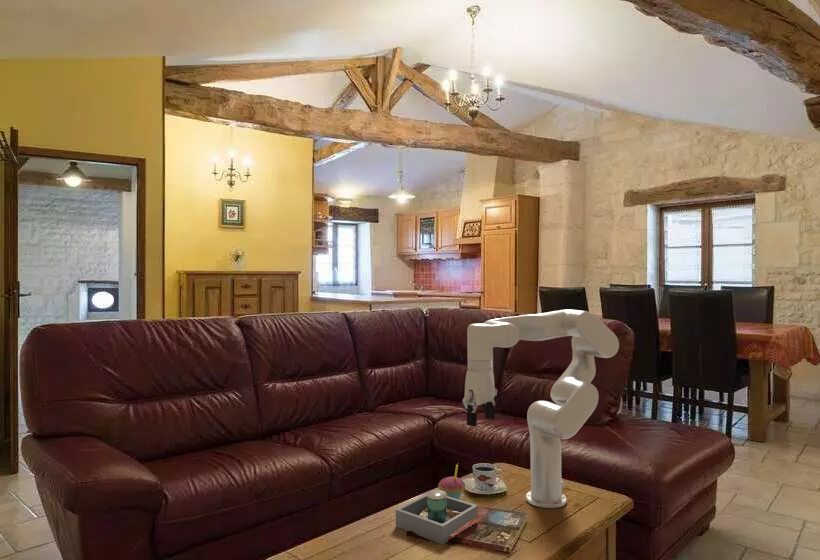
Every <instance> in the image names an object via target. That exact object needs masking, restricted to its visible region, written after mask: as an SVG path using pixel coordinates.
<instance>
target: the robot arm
mask: <svg viewBox="0 0 820 560" xmlns="http://www.w3.org/2000/svg"><path fill="white" fill-rule="evenodd" d="M466 333H467V334H466V336H467V338H466V339H467V343H466V344H467V347H466V348H467V370H466V375H465V380H464V397H463V398H462V403H463V408H464V411H465V413H466V425H467V426H470V427H474V428H475V427H477V426H478V419H477V418H478V414H477V412H476V411H477V409H478V406H481V405H484V418H485V419H489V420H495V418H496V417H495V410H496V409H495V406H496V400H497V394H498V389H497V388H496V387H495V376H494V348H511V347H513V346H515V345H516V344H517V343H518V342H519V341H529V342H531V341H532V342H540V341H546V340H552V339H556V338H563V337H572V338H571V349H572V358H571V359H572V360H571V362H570V364H569V365H568V367H567V368H566V369H565V371H564V372H563V373H562V374H561V376H559V378H558V379H557V380H556V381H555V383H554V384H553V385H552V387H551V389H550V398H551V400H552V401H553V402H552V401H548V400H537V401H534V402H533V403H531V404H530V406H529V407H528V410H527V413H526V414H527V415H526V418H527V421H526V422H527V426H528V427H527V428H528V431H529V438H530V440H529V441H530V451H529V452H530V454H529V455H530V491H528V492H526V495H525V500H526V501H527V502H528V503H529V504H530V505H532V506H535V507H539V508H544V509H557V508H558V509H559V508H562V507H564V506H565V505H567V499H568V498H567V496H566V495H565V494H563V493H562V490H563V488H564V487H565V486H566V483H565V481H563V480H562V443H561V439H562V440H568V439H570V438H572V437H574V436H575V435H576V434H577V432H579V430H580V429H581V428H582V427H583V426H584V424H585V423H586V422H587V421H588V419H589V418H590V417H591V415H592V414H593V413H594V411H595V410H596V408H597V406H598V403H599V398H600V397H599V391H598V389H597V387H596V386H595V385H594V384H592V383H591V382H592V381H593V380H594V378H595V376H596V371H597V368H596V362H595V357H597V358H604V359H609V358H612V357H614V356H616V355H617V353H618V351H619V350H620V341H619V339H618V337H617V336H616V334H615V333H614V332H613V331H612V330H611V329H610V328H609V327H608V325H606V324H605V323H604V322H602V321H601V320H600V319H599V317H597V316H596V315H595V314H593V313H591V312H590V311H587V310H583V309H582V310H580V309H568V308H567V309H560V310H553V311H548V312H542V313H541V312H540V313H536V314H535V313H534V314H525V315H518V316H517V315H516V316H515V315H514V316H506V317H505V316H504V317H501V318H494V319H488V320H485V321H484V322H483V323H480V322H479V323H478V322H477V323H471V324H469V325H468V327H467V331H466Z"/></svg>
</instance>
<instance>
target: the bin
mask: <svg viewBox="0 0 820 560" xmlns="http://www.w3.org/2000/svg"><path fill="white" fill-rule="evenodd" d="M478 506H479V505H477V504H475V503H470V502H467V501H465V500H461V499H459V500H458V499H455V498H452V497H449V496H447V497H446V508H447V509H450V510H454V511H458V512H461V513H460V514H458V515H456V516H455V517H453V518H451V519H450V520H448V521H446V522H445V523H443V524H441V523H438V522H435V521H432V520H429V519H427V518H424V517H421V516H419V515H420V513H421V512H422V511H423V510H425V509H426V508H427V493H426V494H424V495H421V496H420V497H418V498H416V499H414V500H412V501H410V502H408V503H406V504H403V505H401V506H399V507H397V508H396V509H395V527H396V528H398V529H401V530H403V531H405V532H408V531H413V532H414V533H416V534H415V535H416V536H420V537H422V538H424V539H426V540H427V539H428V540H430V541H432V542H435V543H438V544H441V545H442V546H443V545H445V544H447V543H448V542H449V541H448V538H449V536H450V535H451V534H452V533H454V532H455V531H457V530H458V529H459V528H460V527H462V526H463V525H465V524H466V523H468V522H469V521H471V520H473V519H474V518H476V517H478V518H479V515H478V512H479V511H478V510H479V509H478V508H479V507H478ZM414 533H413V534H414ZM417 534H418V535H417Z"/></svg>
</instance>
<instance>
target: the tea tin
mask: <svg viewBox="0 0 820 560" xmlns="http://www.w3.org/2000/svg"><path fill="white" fill-rule="evenodd" d="M426 494H427V509H428V519H429V520H432V521H435V522H438V523H444V522H446V520H447V512H446V497H447V493H446V492H444V491H441V490H440V489H434V490H429V491H427V492H426Z"/></svg>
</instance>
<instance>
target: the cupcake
mask: <svg viewBox="0 0 820 560" xmlns="http://www.w3.org/2000/svg"><path fill="white" fill-rule="evenodd" d="M458 464H459V463H458V462H457V464H456V465H455V471H454V476H445V477H444V478H442V479H441V480H440V481H439V482H438V486H437V487H438V490H441V491H444V492H446V493H447V496H449V497H452V498H455V499H458V500H461V499H460V498H461V495H462V493H463V492H464V491H465V489H466V484H465V482H464V481H463V480H462V479H461V478H459V477H457V476H458V475H457V474H458V469H459V465H458Z"/></svg>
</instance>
